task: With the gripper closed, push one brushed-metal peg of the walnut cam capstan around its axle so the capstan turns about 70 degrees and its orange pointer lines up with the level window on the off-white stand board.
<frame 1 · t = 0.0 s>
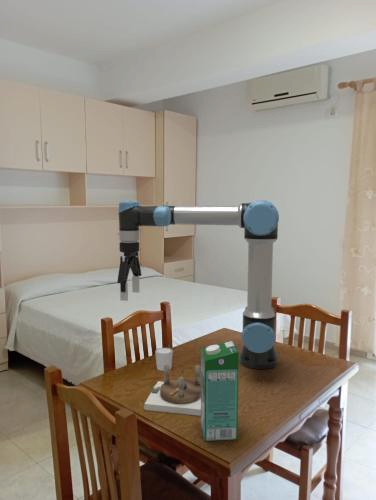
hand: (130, 296, 155), 28 cm above the table, fingers open, 13 cm apart
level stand: (181, 400, 131), on the table
cam capstan: (180, 381, 130), point 6 cm above the table, hinge at 70.0°
white tapered cup: (164, 368, 156), on the table
milk carton: (218, 431, 113), on the table
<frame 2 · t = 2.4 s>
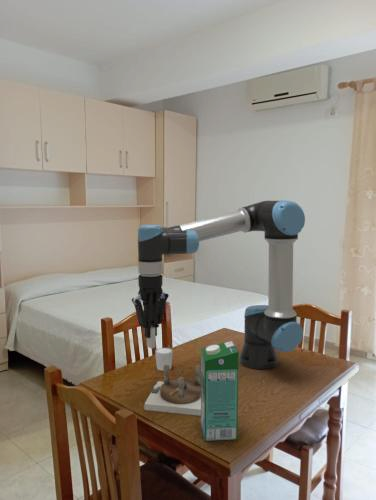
hand: (151, 346, 128), 18 cm above the table, fingers closed
nothing on the table moved.
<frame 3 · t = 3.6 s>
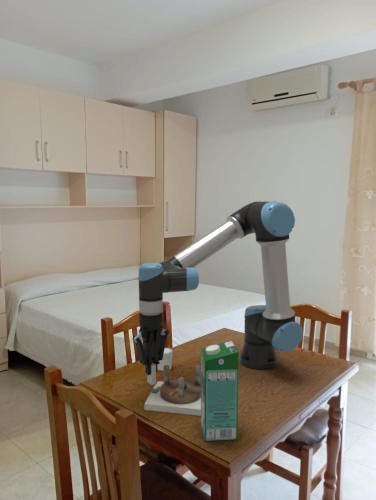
hand: (151, 383, 130), 6 cm above the table, fingers closed
nothing on the table moved.
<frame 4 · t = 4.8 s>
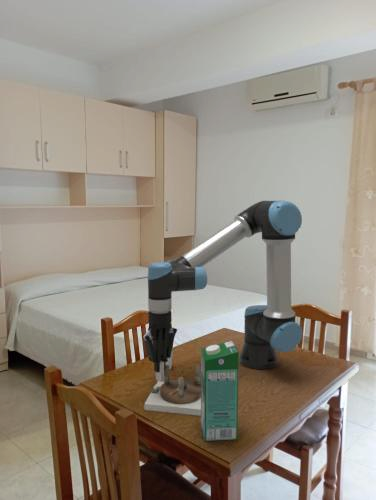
hand: (159, 380, 132), 6 cm above the table, fingers closed
cam capstan: (180, 381, 130), point 6 cm above the table, hinge at 69.0°, touching gripper
everything else where it was.
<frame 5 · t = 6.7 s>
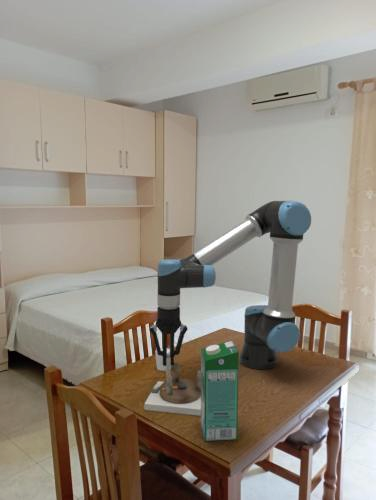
hand: (168, 374, 136), 6 cm above the table, fingers closed
cam capstan: (180, 381, 131), point 6 cm above the table, hinge at 30.8°, touching gripper
everything else where it was.
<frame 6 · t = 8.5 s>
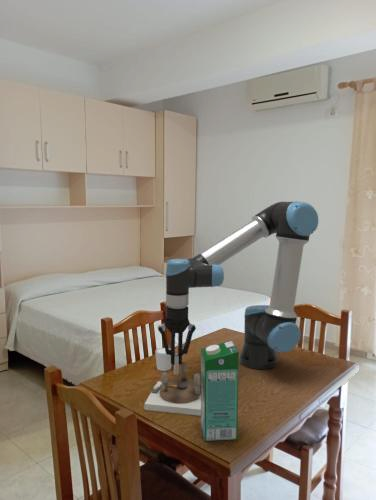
hand: (176, 373, 136), 6 cm above the table, fingers closed
cam capstan: (180, 381, 131), point 6 cm above the table, hinge at 4.7°, touching gripper
everything else where it was.
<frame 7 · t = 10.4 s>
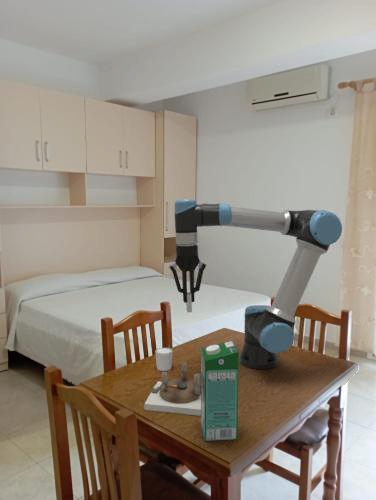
hand: (189, 311, 141), 26 cm above the table, fingers closed
cam capstan: (180, 381, 131), point 6 cm above the table, hinge at 4.3°
everything else where it was.
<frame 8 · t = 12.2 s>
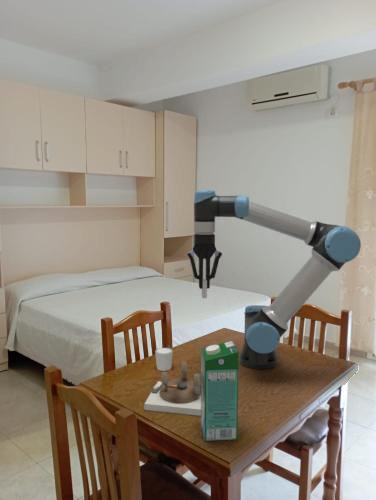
hand: (204, 297, 148), 29 cm above the table, fingers closed
nothing on the table moved.
at the end: cam capstan at +4° (first picture: +70°) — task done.
